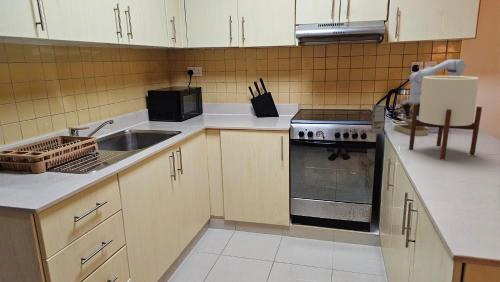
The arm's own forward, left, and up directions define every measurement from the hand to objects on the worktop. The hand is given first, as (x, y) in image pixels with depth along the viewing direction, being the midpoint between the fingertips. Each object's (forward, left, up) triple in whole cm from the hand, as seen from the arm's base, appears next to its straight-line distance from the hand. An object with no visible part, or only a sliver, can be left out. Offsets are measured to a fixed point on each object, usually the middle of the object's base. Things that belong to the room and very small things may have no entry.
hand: (412, 115), depth 205 cm
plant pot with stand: (+13, +41, -10) cm, 44 cm away
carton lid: (0, 0, -5) cm, 5 cm away
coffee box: (+18, -6, -10) cm, 22 cm away
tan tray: (0, 0, -10) cm, 10 cm away
